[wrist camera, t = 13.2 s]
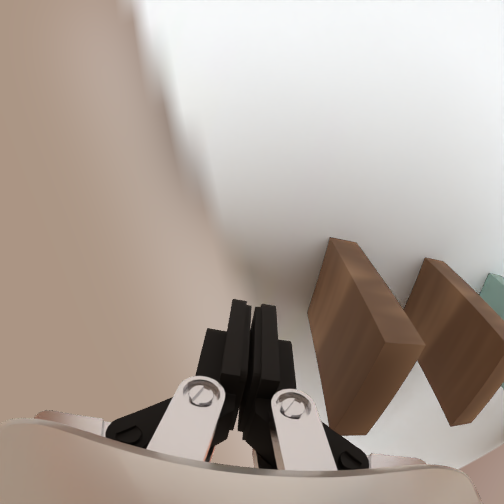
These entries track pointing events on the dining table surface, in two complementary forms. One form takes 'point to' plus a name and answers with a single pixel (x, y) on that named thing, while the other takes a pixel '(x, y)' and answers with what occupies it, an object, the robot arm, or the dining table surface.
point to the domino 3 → (494, 295)
